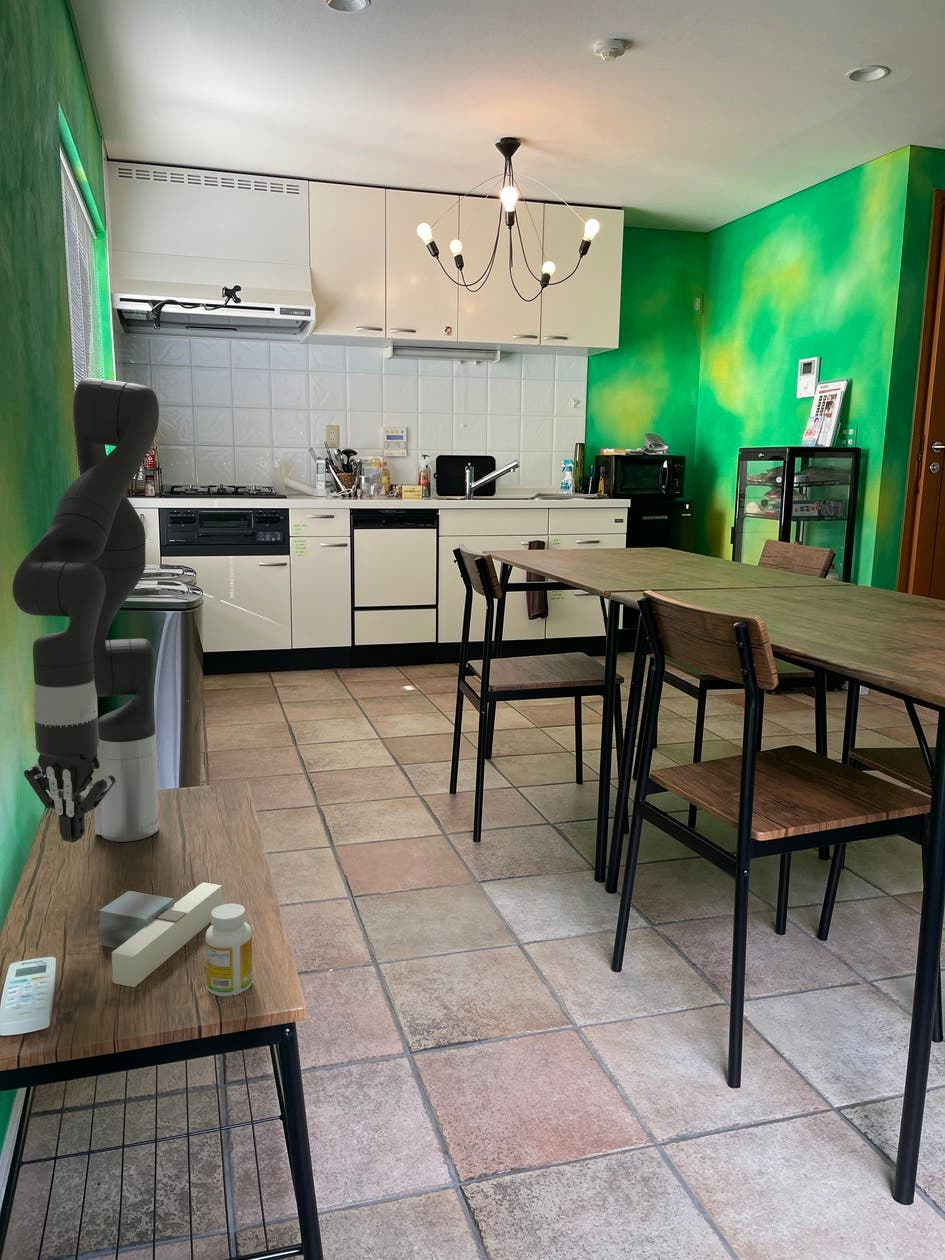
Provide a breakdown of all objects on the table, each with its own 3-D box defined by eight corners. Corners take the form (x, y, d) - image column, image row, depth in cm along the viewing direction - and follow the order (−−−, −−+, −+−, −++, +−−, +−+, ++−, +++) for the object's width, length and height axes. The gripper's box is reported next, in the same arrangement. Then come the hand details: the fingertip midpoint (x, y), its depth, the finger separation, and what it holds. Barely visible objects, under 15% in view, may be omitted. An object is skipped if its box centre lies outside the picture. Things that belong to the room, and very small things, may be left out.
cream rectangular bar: (112, 982, 111) (111, 950, 110) (203, 908, 130) (202, 880, 129) (134, 987, 110) (133, 955, 109) (222, 911, 129) (222, 884, 128)
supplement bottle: (244, 968, 115) (242, 896, 113) (258, 989, 110) (257, 915, 109) (201, 980, 112) (199, 906, 110) (214, 1002, 107) (212, 926, 106)
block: (101, 946, 120) (99, 910, 119) (130, 924, 125) (129, 890, 124) (147, 955, 118) (145, 919, 117) (174, 933, 123) (173, 898, 122)
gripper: (128, 712, 120) (133, 836, 123) (44, 700, 123) (51, 821, 127) (89, 728, 113) (95, 859, 116) (2, 715, 116) (10, 842, 120)
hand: (72, 839), depth 122 cm, fingers closed
